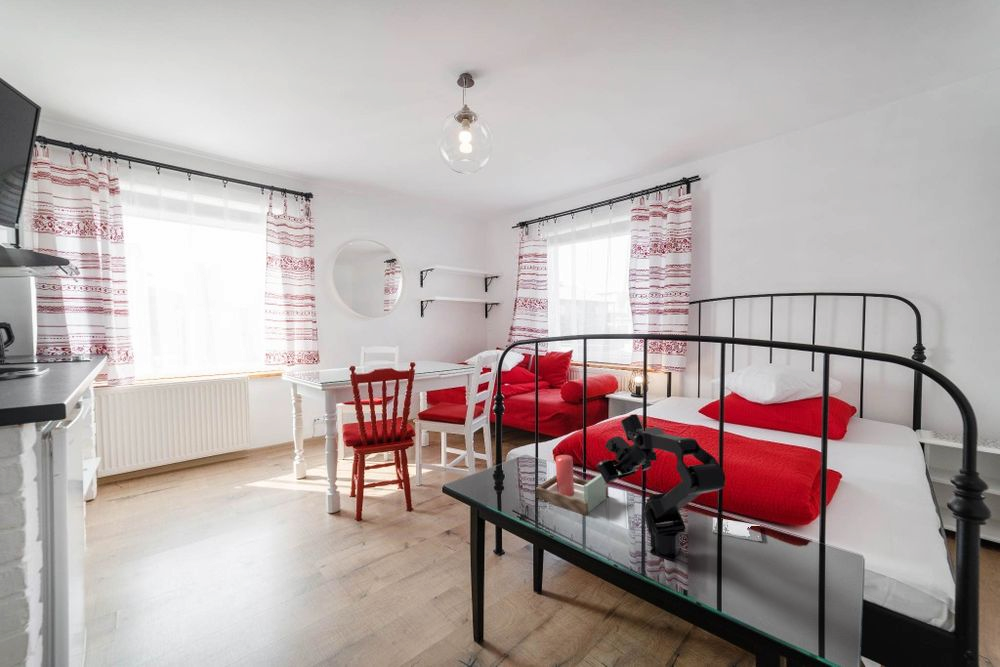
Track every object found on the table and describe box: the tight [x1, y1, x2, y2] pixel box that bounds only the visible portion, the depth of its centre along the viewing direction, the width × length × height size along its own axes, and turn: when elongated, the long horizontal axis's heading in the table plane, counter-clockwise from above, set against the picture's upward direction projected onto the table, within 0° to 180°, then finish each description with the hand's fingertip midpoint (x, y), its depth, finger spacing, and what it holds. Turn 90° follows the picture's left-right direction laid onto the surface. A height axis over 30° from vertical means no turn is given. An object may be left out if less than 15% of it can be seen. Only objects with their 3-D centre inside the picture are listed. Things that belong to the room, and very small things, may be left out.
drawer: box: [535, 475, 609, 516], centre depth 147 cm, size 20×16×4 cm
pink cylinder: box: [555, 454, 574, 497], centre depth 149 cm, size 6×6×13 cm
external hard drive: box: [712, 517, 761, 537], centre depth 122 cm, size 2×8×12 cm
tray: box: [546, 473, 607, 514], centre depth 146 cm, size 18×12×9 cm
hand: (612, 477), depth 136 cm, fingers closed
